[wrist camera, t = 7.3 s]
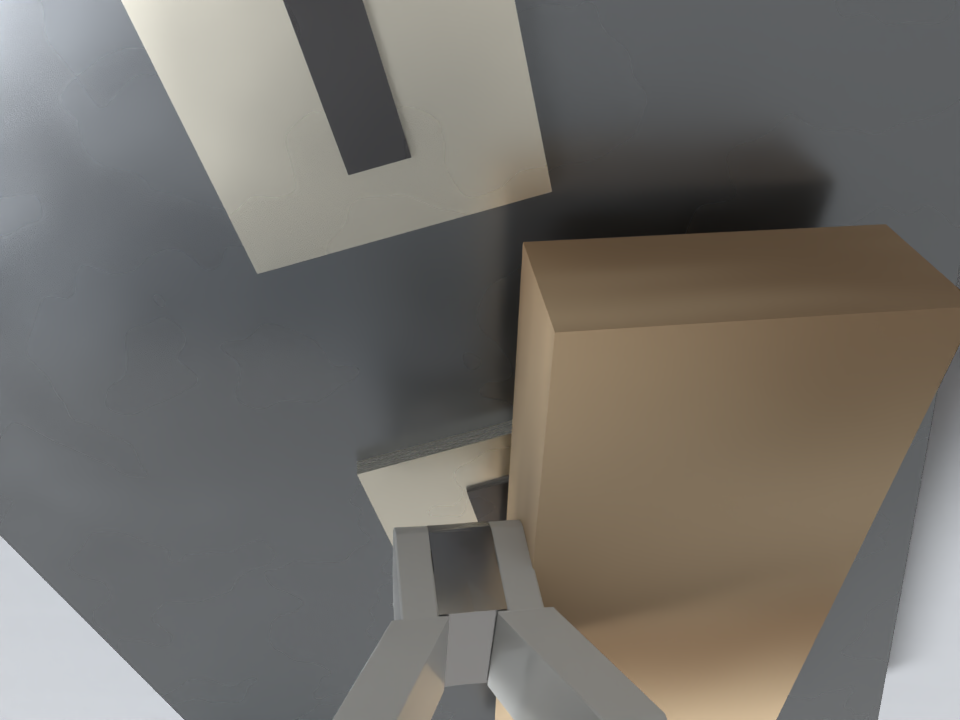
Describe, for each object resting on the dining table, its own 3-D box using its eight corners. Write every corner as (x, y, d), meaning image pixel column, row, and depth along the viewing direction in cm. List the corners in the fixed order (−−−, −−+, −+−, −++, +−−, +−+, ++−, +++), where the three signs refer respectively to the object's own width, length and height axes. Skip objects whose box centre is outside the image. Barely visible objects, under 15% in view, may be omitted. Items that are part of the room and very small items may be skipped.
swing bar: (673, 792, 21) (700, 876, 20) (489, 817, 20) (500, 905, 19) (885, 223, 11) (978, 305, 9) (522, 242, 10) (554, 332, 9)
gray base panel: (-876, -550, 6) (-1241, -639, 5) (1086, -1234, 6) (1343, -1575, 4) (328, 808, 24) (327, 878, 22) (849, 679, 23) (883, 742, 22)
